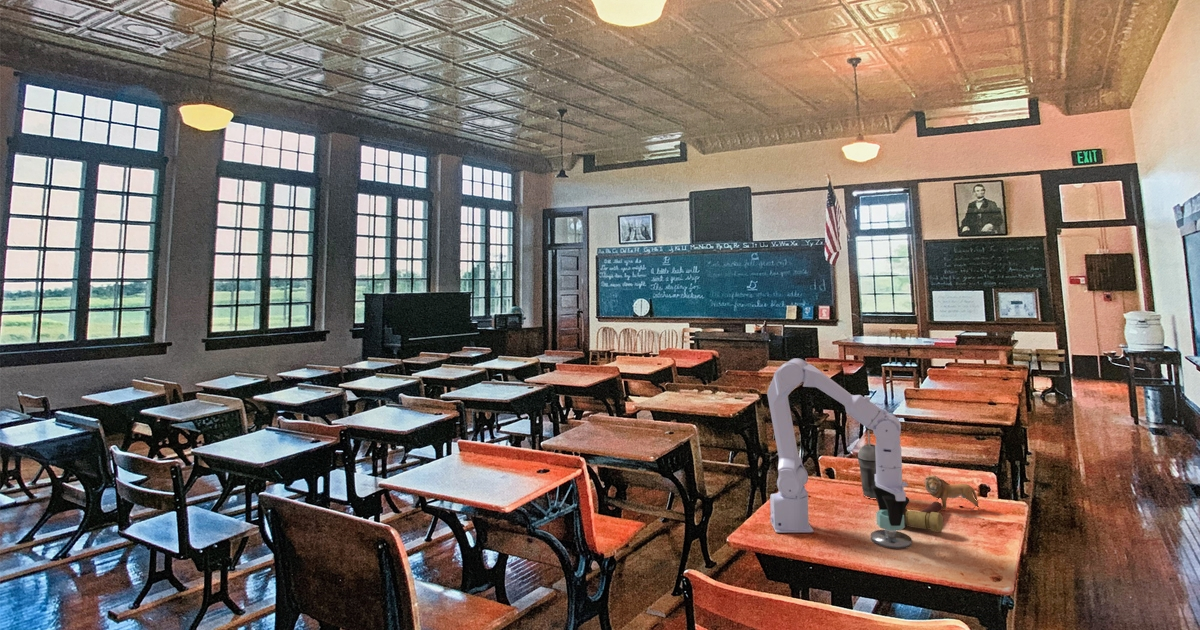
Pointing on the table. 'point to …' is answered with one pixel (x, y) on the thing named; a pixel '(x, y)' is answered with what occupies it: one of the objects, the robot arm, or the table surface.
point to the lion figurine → (949, 490)
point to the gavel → (925, 518)
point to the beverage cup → (867, 467)
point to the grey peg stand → (891, 539)
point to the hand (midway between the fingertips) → (890, 520)
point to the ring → (887, 521)
